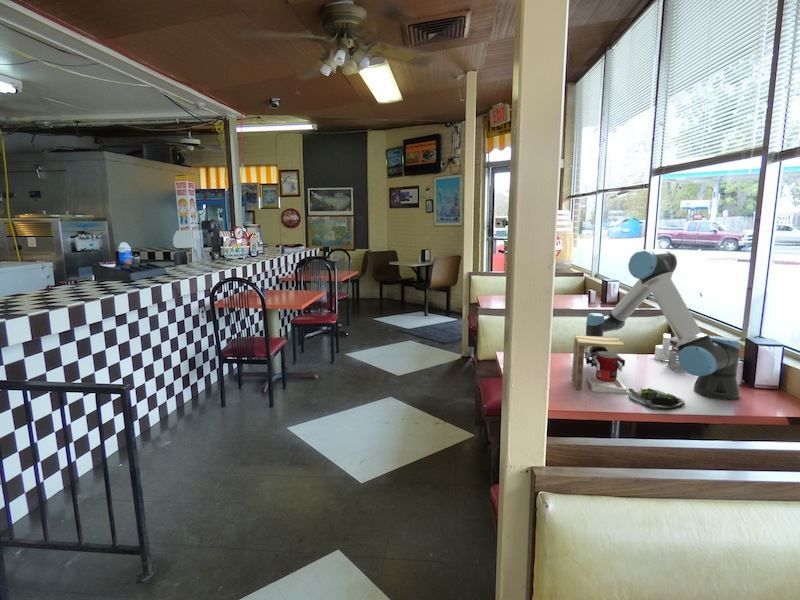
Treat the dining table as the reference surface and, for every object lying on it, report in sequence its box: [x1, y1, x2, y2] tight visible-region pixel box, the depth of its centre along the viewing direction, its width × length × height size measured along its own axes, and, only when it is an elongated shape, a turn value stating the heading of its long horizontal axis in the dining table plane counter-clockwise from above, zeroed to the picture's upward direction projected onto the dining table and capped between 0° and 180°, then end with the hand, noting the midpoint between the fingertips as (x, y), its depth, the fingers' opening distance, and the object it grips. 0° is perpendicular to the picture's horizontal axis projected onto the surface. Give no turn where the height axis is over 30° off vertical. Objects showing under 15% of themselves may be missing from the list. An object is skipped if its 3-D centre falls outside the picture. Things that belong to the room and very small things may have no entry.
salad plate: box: [627, 387, 685, 411], centre depth 176 cm, size 19×18×5 cm
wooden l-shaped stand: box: [571, 334, 626, 391], centre depth 189 cm, size 12×17×20 cm
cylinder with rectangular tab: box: [654, 333, 676, 361], centre depth 227 cm, size 9×9×12 cm
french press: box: [664, 336, 686, 373], centre depth 211 cm, size 10×12×25 cm
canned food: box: [595, 351, 619, 382], centre depth 189 cm, size 8×8×11 cm
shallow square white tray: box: [585, 375, 628, 395], centre depth 190 cm, size 13×13×2 cm
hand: (609, 367), depth 184 cm, fingers closed on canned food, 8 cm apart
